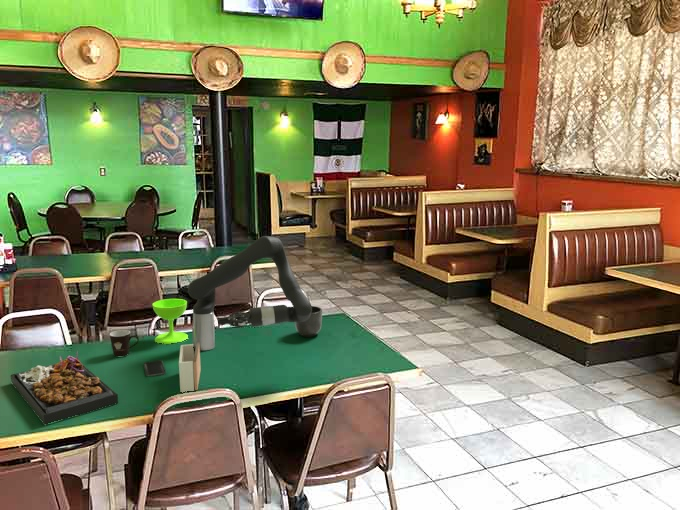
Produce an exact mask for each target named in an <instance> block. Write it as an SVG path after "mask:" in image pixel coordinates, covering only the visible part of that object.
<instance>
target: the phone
mask: <svg viewBox="0 0 680 510" xmlns="http://www.w3.org/2000/svg"><path fill="white" fill-rule="evenodd" d="M143 368H144V369H143V370H144V374H145V377H146V376H152V377H157V376H156V375H159V376H164V374H165V375H166V373H167V372H166V368H165V366H164V362H163V360H161V359H160V360H153V361H145V362H143Z"/></svg>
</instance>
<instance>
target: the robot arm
mask: <svg viewBox="0 0 680 510" xmlns="http://www.w3.org/2000/svg"><path fill="white" fill-rule="evenodd" d="M262 259H271V260H272V262H273V263H274V264H275V265H276V269H277V273H278V282H279V287H281V290H282V291H283V293H284V296H285V298H286V299H287V301H289V302H290V303H291V305H292V306H287V305H286V304H279V305H277V304H276V305H265V306H264V305H263V306H258V307H250V308H249V310H248V311H249V312H244V311H243V312H242V311H241V310H238V311H236V312H234V313H231V314H229V315H228V316H227V317H220V318H217V321H218V322H217V324H218V326H221V325H230V327H237V328H244V326H246V325H249V324H250V326H251V327H252V328H254V327H262V326H263V327H264V326H270V325H273V324H279V323H280V324H281V323H295V322H303V321H306V320H308V319H309V317H310V315H311V312H312V306H313V305H312V304H311V301H310V300H309V299H308V297H307V296H306V294H305V293H304V292H303V291H302V288H301V286H300V284H299V282H298V280H297V279H296V277H295V275H294V272H293V270H292V268H291V264H290V262H289V259H288V257H287V253H286V249H285V247H284V245H283V242H282V241H281V239H280V238H278V237H276V236H269V235H263V236H261V237H258V238H257V239H255V240H254V241H253V242H252V243H251V244H250V245H248V246H247V247H246V248H244V249H243V250H241V251H239V252H238V253H236V254H234V255H233V256H231V257H230V258H228V259H226V260H225V261H223V262H222V263H221V264H219V265H217V266H216V267H214V268H213V269H212V270H211V271H210V272H208V273H206V274H205V275H203V276H201V277H198V278H197V279H194V280H192V281H190V283H189V284H188V288H187V294H188V295H189V297H190V298H191V299H194V300H197V301H196V303H195V304H194V305H193V306H192V313H193V314H192V318H193V327H191V328H192V329H191V335H192V344H193V347H194V348H193V349H196V344H197V343H199V346H200V351H209V350H213V349H215V347H216V342H215V341H216V340H215V338H216V337H215V333H216V332H215V313H214V310H215V305H216V289H217V288H219V287H221V286H224V285H226V284H229V283H231V282H233V281H235V280H237V279H238V278H240V277H242V276H243V275H245V274H246V273H247V271H248V270H249V268H250V266H251V265H253V264H254V263H256V262H257V261H260V260H262Z"/></svg>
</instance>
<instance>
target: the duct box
mask: <svg viewBox="0 0 680 510" xmlns="http://www.w3.org/2000/svg"><path fill="white" fill-rule="evenodd" d="M179 348H180V349H179V358H178V368H179V369H178V371H179V372H178V373H179V388H180V392H182V393H183V392H185V391H186V392H185V393H188V392H187V391H194V392H195V383H194V362H193V360H194V355H195V351H194V348H193V343H192V344H191V343H190V344H180V346H179ZM182 393H181V394H182ZM183 394H184V393H183Z"/></svg>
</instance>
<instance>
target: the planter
mask: <svg viewBox="0 0 680 510" xmlns="http://www.w3.org/2000/svg"><path fill="white" fill-rule="evenodd" d="M311 306H312V312H311V315H310V317H309V319H308V320H306V321H303V322H294V326H295V330H296V332H298V334H299V335H300V336H301V337H306V338H311V337H315V336H317V334H319V332H320V331H321V329H322V322H323V309H322V308H321V307H319V306H316V305H315V306H314V305H311Z"/></svg>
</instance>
